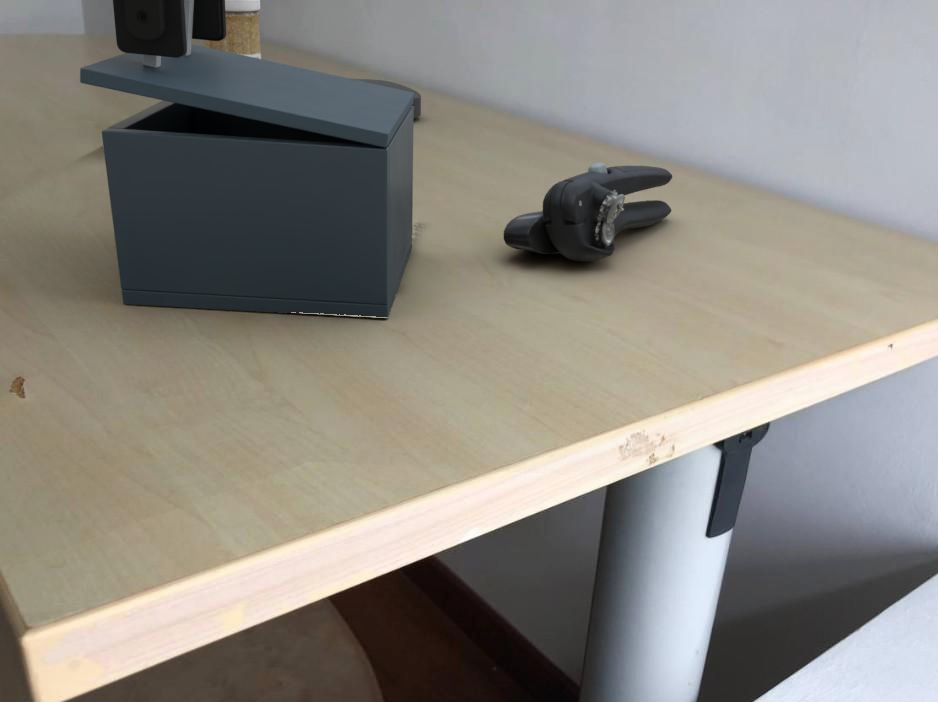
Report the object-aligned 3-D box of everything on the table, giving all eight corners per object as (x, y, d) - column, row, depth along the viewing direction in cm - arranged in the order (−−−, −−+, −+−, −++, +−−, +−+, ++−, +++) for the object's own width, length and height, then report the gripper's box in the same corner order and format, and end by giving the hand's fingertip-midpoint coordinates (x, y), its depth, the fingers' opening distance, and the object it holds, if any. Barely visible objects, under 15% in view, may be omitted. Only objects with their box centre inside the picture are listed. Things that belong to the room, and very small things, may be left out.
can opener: (584, 284, 58) (593, 190, 56) (488, 258, 62) (493, 168, 59) (706, 225, 72) (717, 148, 70) (623, 207, 75) (631, 132, 73)
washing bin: (122, 304, 51) (100, 130, 47) (195, 234, 62) (182, 90, 58) (387, 319, 51) (387, 149, 47) (412, 247, 62) (413, 105, 59)
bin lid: (79, 83, 46) (80, -44, 43) (167, 51, 57) (172, -51, 55) (386, 148, 47) (403, 29, 45) (412, 104, 59) (427, 7, 56)
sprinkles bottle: (265, 152, 83) (255, -19, 78) (271, 165, 80) (262, -15, 74) (208, 153, 82) (194, -22, 76) (212, 165, 78) (197, -18, 72)
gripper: (131, -350, 51) (159, 22, 59) (-45, -465, 35) (25, 61, 43) (278, -333, 51) (285, 34, 59) (168, -439, 35) (198, 78, 44)
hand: (175, 42), depth 51 cm, fingers closed on bin lid, 6 cm apart
